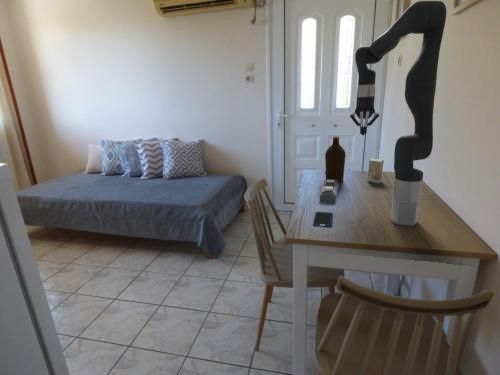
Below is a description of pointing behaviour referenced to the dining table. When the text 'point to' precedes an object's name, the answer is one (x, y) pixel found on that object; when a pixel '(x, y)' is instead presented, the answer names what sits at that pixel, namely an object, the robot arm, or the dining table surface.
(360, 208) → the dining table surface
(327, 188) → the near switch
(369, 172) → the skincare box
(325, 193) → the switch panel
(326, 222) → the cell phone
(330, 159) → the olive oil
